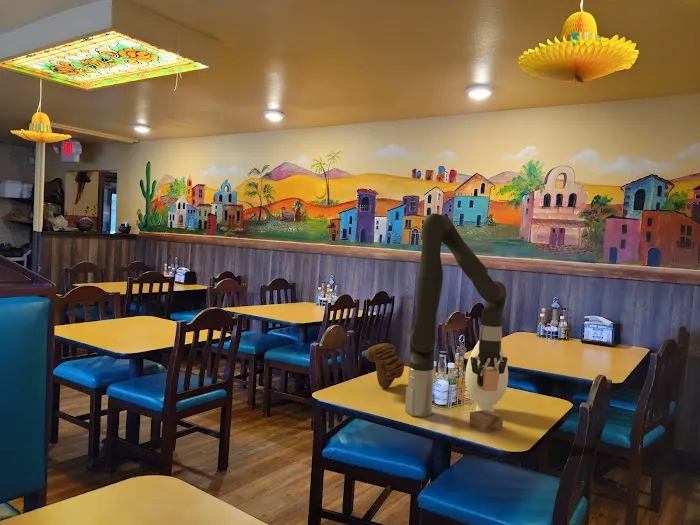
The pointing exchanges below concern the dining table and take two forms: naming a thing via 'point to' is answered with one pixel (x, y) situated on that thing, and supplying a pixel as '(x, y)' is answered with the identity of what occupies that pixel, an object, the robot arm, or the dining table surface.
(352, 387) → the dining table surface
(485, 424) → the walnut block
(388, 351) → the sculpture
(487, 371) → the light wooden cube
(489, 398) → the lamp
